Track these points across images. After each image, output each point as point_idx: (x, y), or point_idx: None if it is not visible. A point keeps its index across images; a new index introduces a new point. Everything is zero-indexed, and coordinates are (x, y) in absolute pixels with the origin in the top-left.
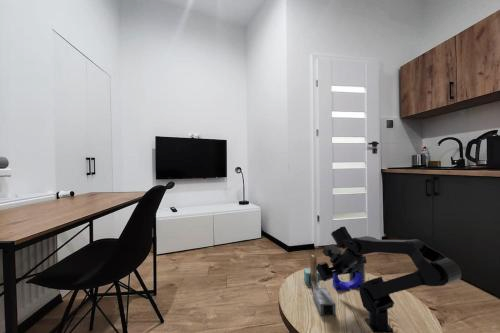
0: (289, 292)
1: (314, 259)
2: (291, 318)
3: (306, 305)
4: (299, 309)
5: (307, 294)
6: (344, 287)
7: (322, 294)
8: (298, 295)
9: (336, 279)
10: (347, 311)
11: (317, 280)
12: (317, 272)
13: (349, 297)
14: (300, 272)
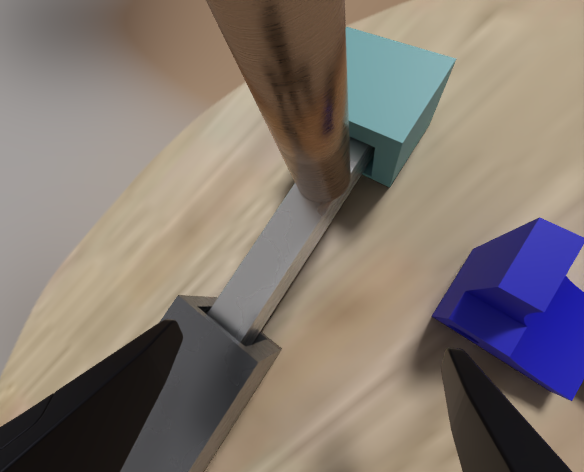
0: (169, 180)
1: (236, 34)
2: (11, 367)
3: (134, 331)
4: (85, 336)
5: (224, 247)
6: (514, 364)
7: (147, 423)
8: (180, 228)
9: (495, 301)
10: None
11: (379, 170)
12: (398, 126)
13: (438, 467)
14: (398, 12)
